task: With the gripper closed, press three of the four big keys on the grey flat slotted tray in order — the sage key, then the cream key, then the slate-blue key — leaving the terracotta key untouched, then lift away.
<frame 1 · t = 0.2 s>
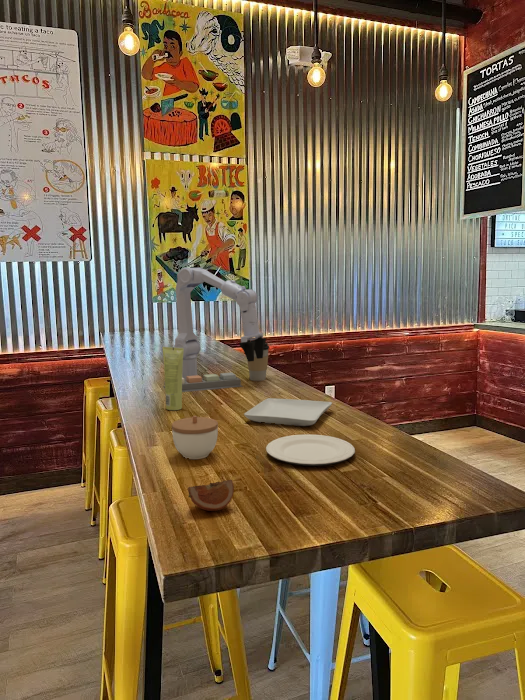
hand: (255, 359, 197), 10 cm above the table, tool pointing down, fingers open, 7 cm apart
tube: (174, 409, 170), on the table
key terracotta: (194, 379, 196), point 4 cm above the table, slide at 0.0 cm
plate: (310, 456, 128), on the table
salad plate: (289, 419, 160), on the table
key slate: (227, 376, 201), point 4 cm above the table, slide at 0.0 cm
key cream: (176, 380, 194), point 4 cm above the table, slide at 0.0 cm
fruit slice: (210, 509, 99), on the table
grey flat slotted tray: (202, 389, 198), on the table
key sage: (211, 378, 198), point 4 cm above the table, slide at 0.0 cm
lidded jar: (195, 455, 128), on the table
coffee cup: (257, 382, 210), on the table
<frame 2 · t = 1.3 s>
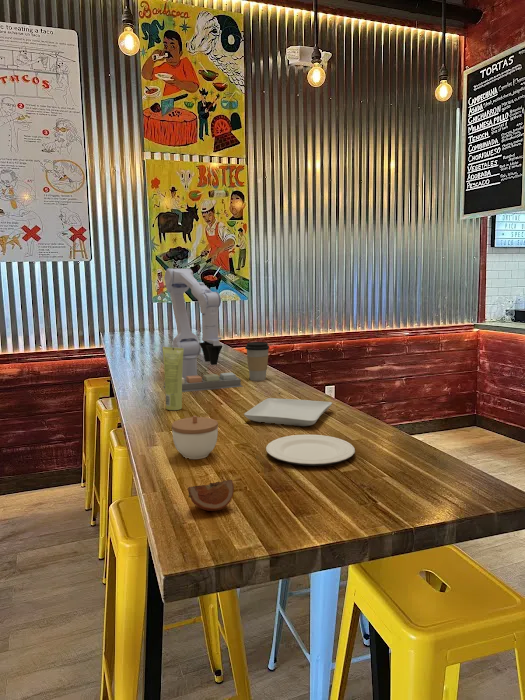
hand: (210, 363, 198), 9 cm above the table, tool pointing down, fingers open, 7 cm apart
nothing on the table moved.
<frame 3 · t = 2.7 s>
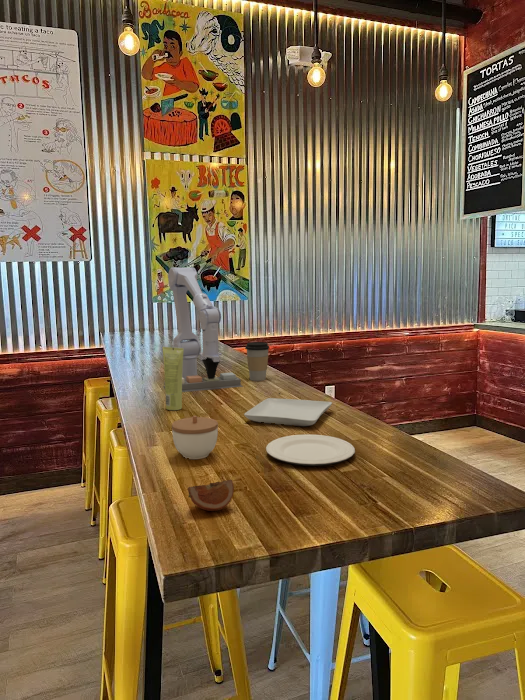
hand: (211, 378, 198), 4 cm above the table, tool pointing down, fingers closed, pressing on key sage
key sage: (211, 381, 199), point 3 cm above the table, slide at 1.1 cm, touching gripper
everything else where it was.
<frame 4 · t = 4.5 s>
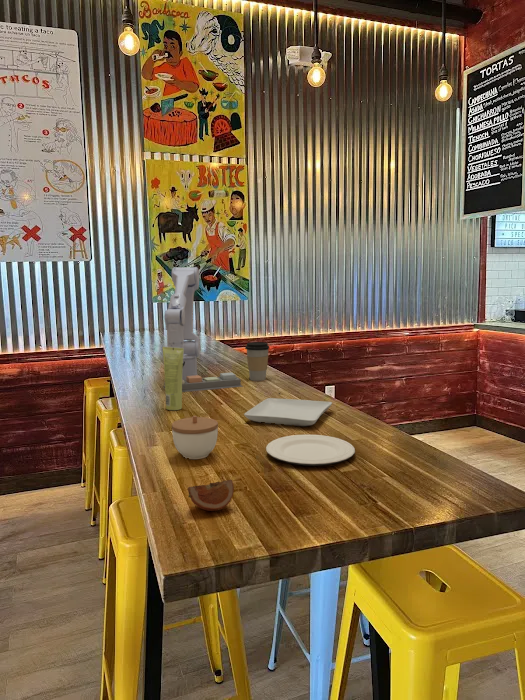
hand: (176, 380, 194), 4 cm above the table, tool pointing down, fingers closed, pressing on key cream
key cream: (176, 383, 194), point 3 cm above the table, slide at 0.8 cm, touching gripper
key sage: (211, 381, 199), point 3 cm above the table, slide at 1.1 cm
everything else where it was.
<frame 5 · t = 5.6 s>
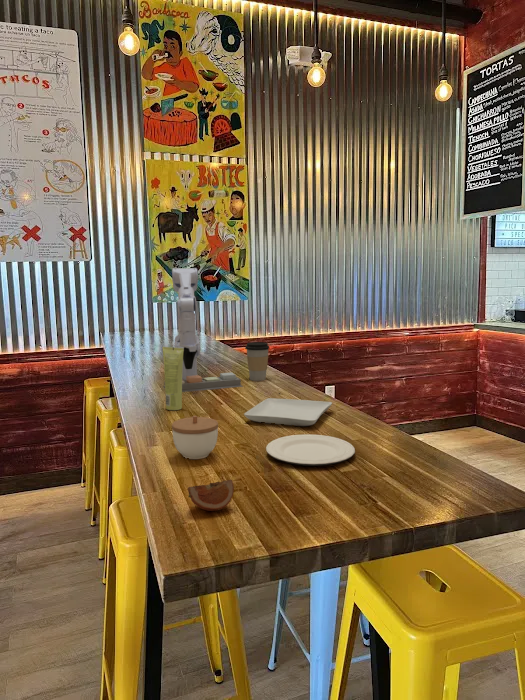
hand: (188, 368, 195), 8 cm above the table, tool pointing down, fingers closed
key cream: (176, 384, 194), point 3 cm above the table, slide at 1.1 cm
everything else where it was.
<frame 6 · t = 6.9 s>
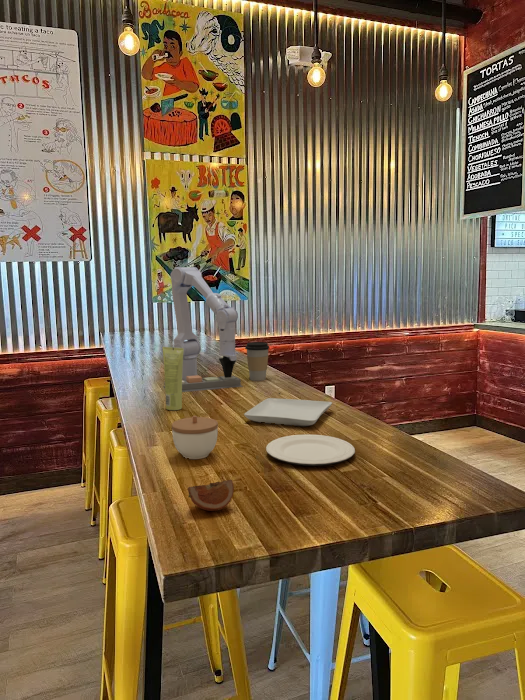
hand: (227, 377, 201), 4 cm above the table, tool pointing down, fingers closed, pressing on key slate
key slate: (227, 379, 201), point 3 cm above the table, slide at 1.1 cm, touching gripper
everything else where it was.
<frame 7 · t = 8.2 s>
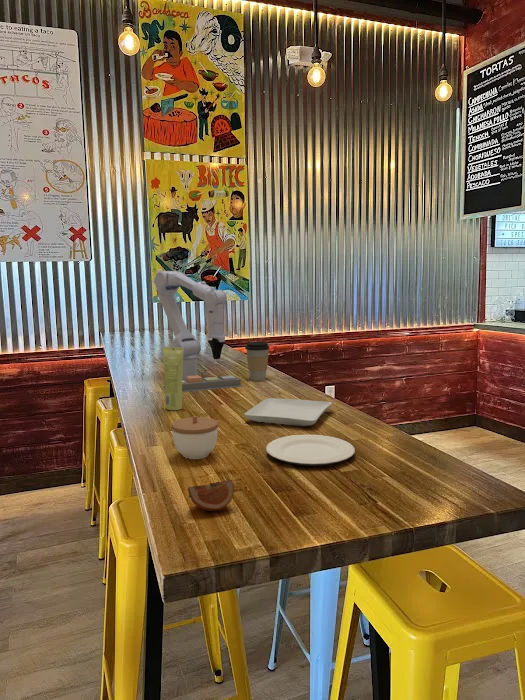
hand: (216, 358, 203), 10 cm above the table, tool pointing down, fingers closed
key slate: (227, 379, 201), point 3 cm above the table, slide at 1.1 cm
everything else where it was.
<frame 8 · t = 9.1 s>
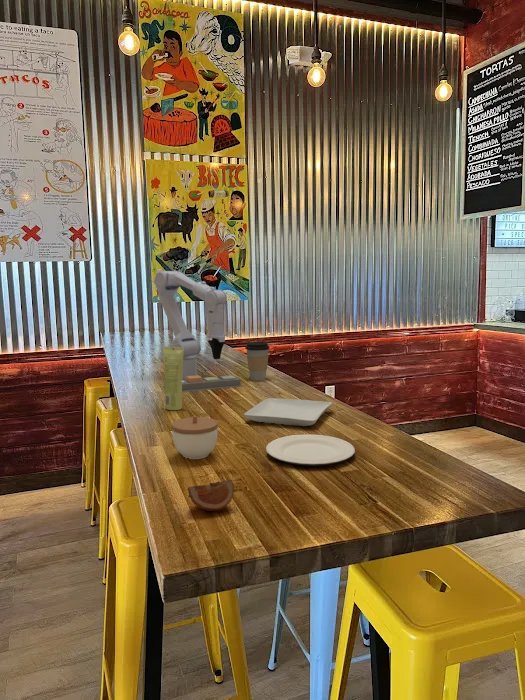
hand: (216, 358, 203), 10 cm above the table, tool pointing down, fingers closed
nothing on the table moved.
at the end: key cream slide at 1.1 cm; key slate slide at 1.1 cm; key terracotta slide at 0.0 cm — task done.
